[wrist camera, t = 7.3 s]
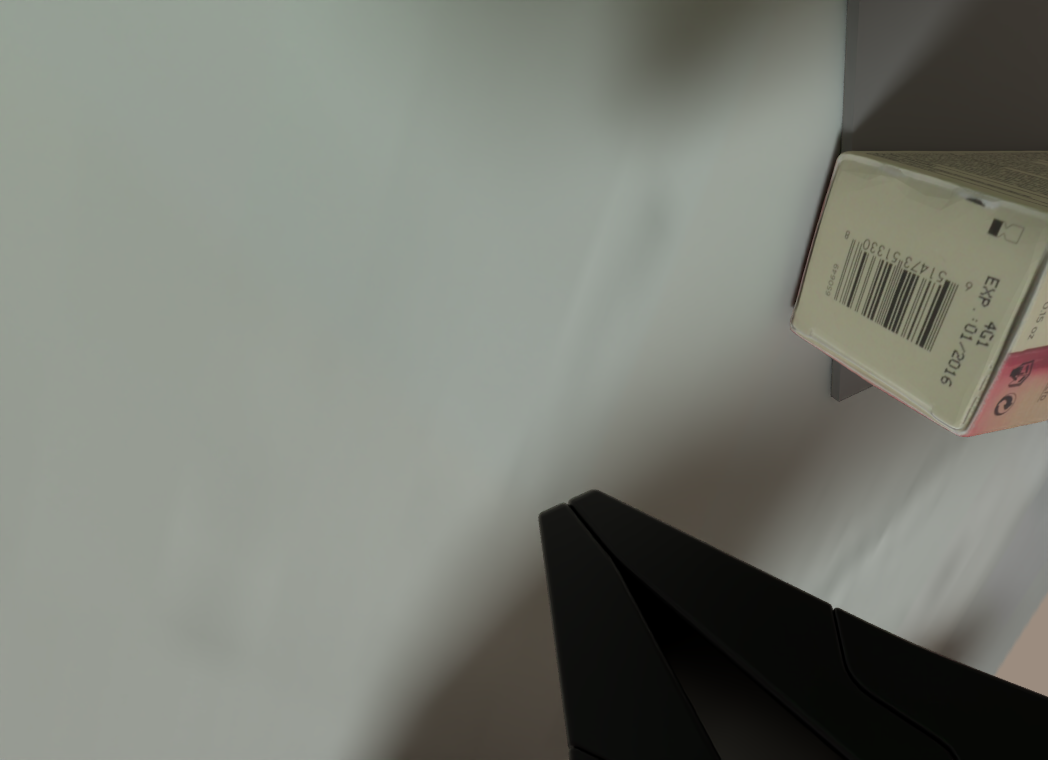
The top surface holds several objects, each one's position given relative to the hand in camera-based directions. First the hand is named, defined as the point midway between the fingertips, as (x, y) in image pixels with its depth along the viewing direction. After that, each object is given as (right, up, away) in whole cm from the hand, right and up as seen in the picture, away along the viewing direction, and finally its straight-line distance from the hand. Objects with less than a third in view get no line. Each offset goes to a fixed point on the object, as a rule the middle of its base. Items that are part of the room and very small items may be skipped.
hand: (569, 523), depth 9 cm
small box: (+6, +4, +4) cm, 9 cm away
